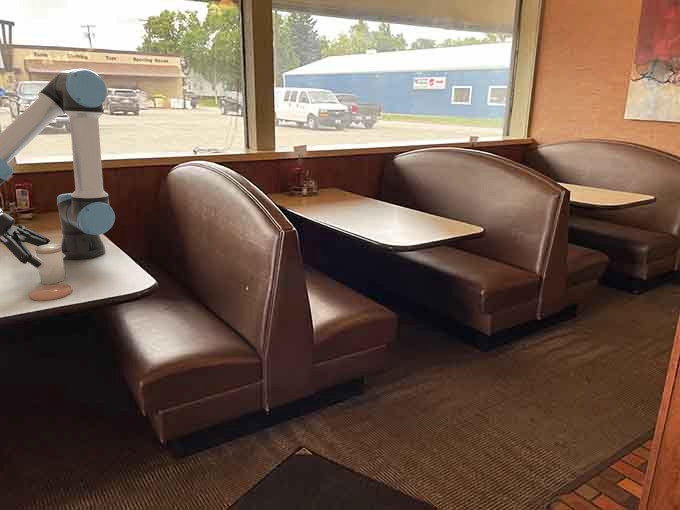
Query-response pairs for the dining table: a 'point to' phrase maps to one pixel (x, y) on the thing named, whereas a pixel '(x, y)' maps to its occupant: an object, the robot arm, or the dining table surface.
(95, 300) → the dining table surface
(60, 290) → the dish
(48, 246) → the cup
